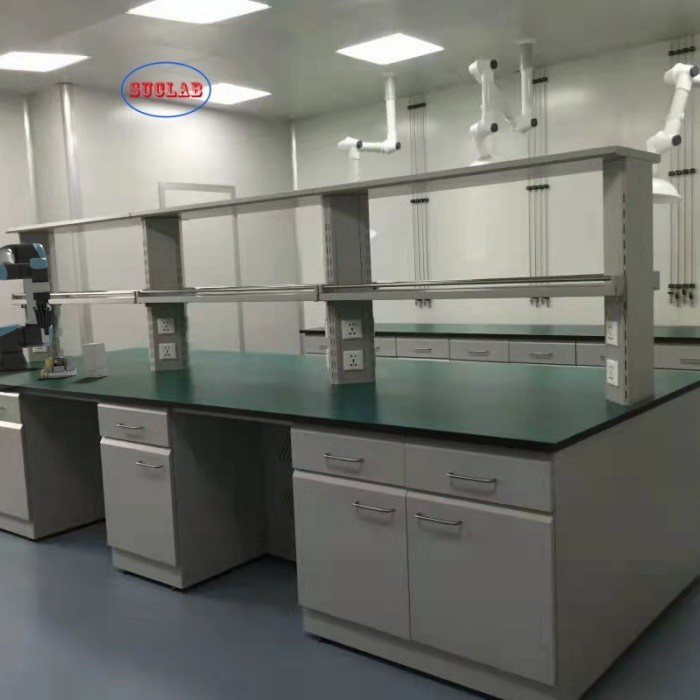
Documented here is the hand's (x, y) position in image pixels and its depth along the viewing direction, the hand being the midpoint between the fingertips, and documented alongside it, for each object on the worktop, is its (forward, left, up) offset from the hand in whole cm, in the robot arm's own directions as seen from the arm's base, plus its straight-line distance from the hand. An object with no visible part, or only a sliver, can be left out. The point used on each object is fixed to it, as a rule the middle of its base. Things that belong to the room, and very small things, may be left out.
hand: (46, 342), depth 356 cm
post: (+2, -3, -17) cm, 17 cm away
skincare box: (+14, +20, -17) cm, 30 cm away
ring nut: (-2, +5, -14) cm, 15 cm away
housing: (-2, +5, -17) cm, 18 cm away
